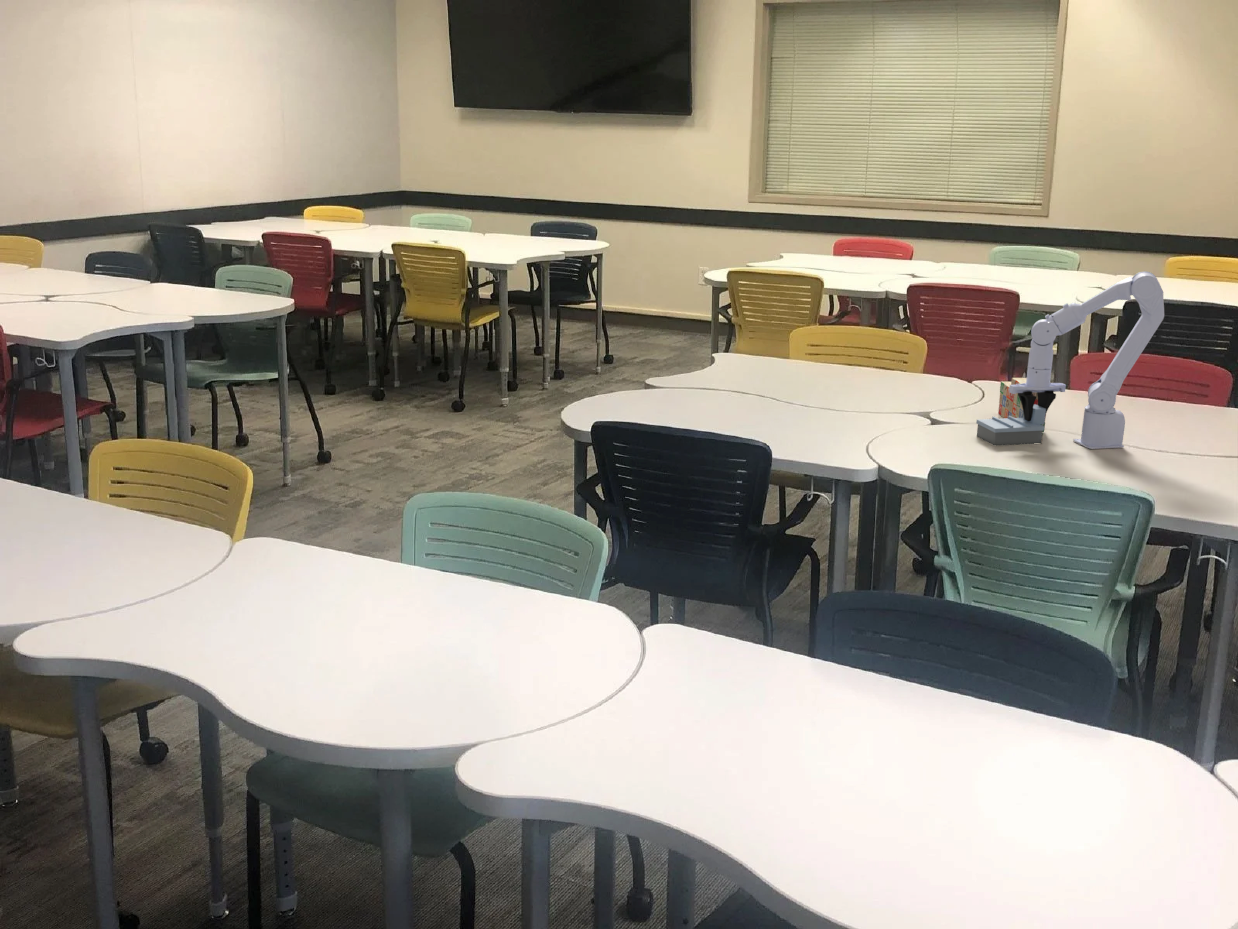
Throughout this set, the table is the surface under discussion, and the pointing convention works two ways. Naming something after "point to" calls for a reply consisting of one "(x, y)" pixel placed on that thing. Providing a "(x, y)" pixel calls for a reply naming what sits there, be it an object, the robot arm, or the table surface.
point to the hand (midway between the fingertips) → (1033, 420)
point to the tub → (1009, 437)
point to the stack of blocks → (1012, 400)
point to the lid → (1016, 422)
